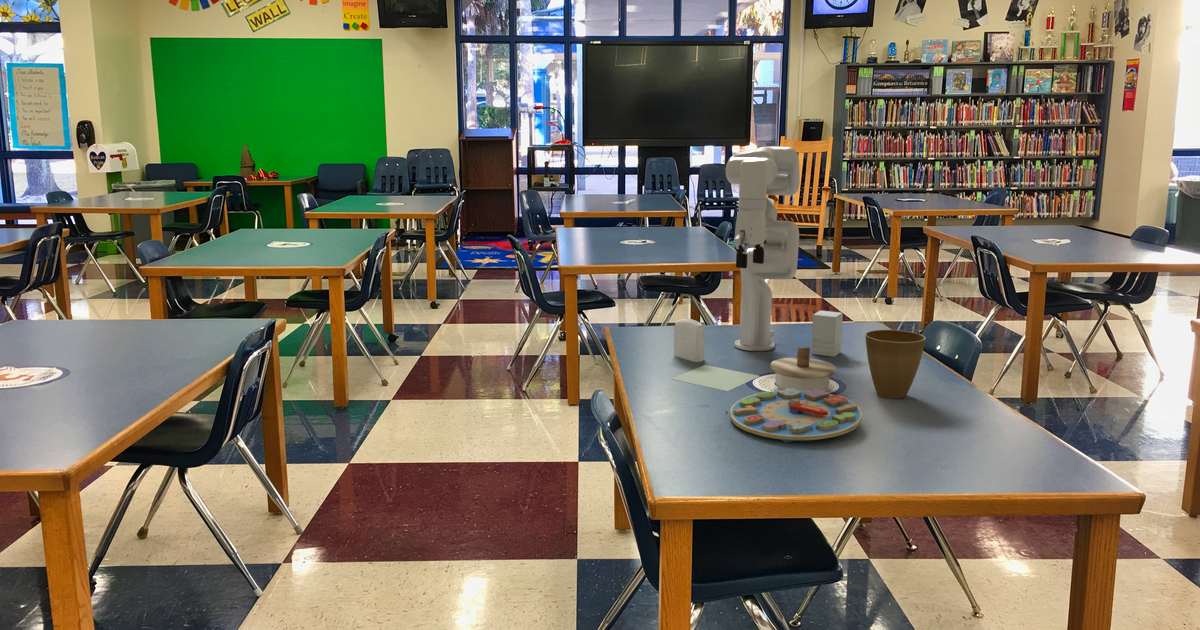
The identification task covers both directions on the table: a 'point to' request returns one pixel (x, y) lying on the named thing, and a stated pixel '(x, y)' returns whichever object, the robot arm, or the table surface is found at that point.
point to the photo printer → (689, 340)
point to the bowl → (802, 383)
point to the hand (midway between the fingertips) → (749, 265)
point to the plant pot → (893, 360)
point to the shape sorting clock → (796, 414)
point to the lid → (803, 366)
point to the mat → (715, 377)
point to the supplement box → (827, 333)
